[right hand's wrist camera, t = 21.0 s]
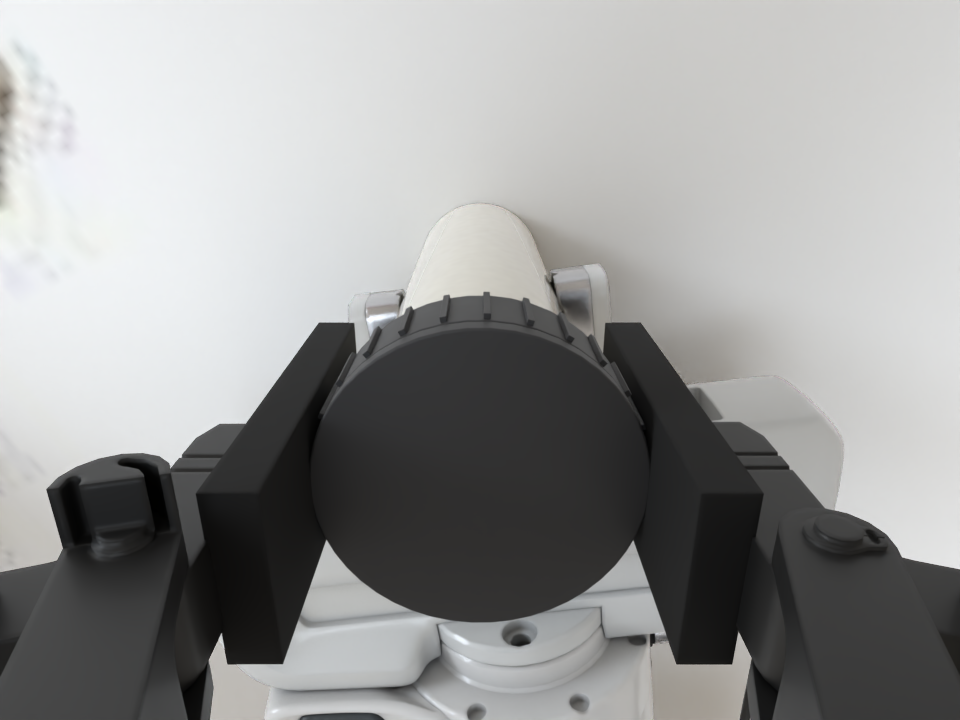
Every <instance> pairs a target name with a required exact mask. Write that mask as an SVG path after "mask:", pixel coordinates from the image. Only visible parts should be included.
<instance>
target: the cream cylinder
mask: <svg viewBox="0 0 960 720" xmlns="http://www.w3.org/2000/svg"><path fill="white" fill-rule="evenodd" d="M483 292H490V296H498V297H506V298H512V299H516V300H520V301H522V300H523V297H525V298H528V299H529V300H530V303H532V304H534V305H537V306H539V307H542V308H544V309H547V310H549V311H551V312H553V313H555V314H557V315H558V314H559V312H562V310H561V308H560V305H559V303H558V300H557V297H556V295H555V292H554V290H553V287H552V285H551V282H550V279H549V277H548V274H547V272H546V269H545V267H544V264H543V261H542V259H541V256H540V254H539V251H538V249H537V246H536V243H535V241H534V238H533V236H532V234H531V232H530V231H529V229H528V228H527V226H526V225H525V224H524V223H523V222H522V221H521V219H519V218H518V217H517V216H516V215H515V214H513V213H511V212H510V211H508V210H506V209H504V208H502V207H499V206H496V205H492V204H486V203H476V204H468V205H464V206H461V207H458V208H456V209H454V210H452V211H450V212H448V213H447V214H446V215H444V216H443V217H442V218H441V219H440V220H439V221H438V222H437V223H436V224H435V225H434V227H433V228H432V229H431V231H430V233H429V234H428V237H427V239H426V241H425V244H424V246H423V249H422V252H421V254H420V257H419V259H418V262H417V264H416V267H415V270H414V272H413V275H412V277H411V280H410V282H409V285H408V288H407V290H406V293H405V295H404V298H403V300H402V303H401V306H400V308H399V311H398V313H397V316H396V318H398V317H400V316H402V315H403V314H404V313H405V310H406V308H408V307H410V306H412V308H413V310H414V309H416V308H418V307H421V306H423V305H426V304H429V303H432V302H436V301H440V300H443V296H444V295H450V298H455V297H462V296H483Z"/></svg>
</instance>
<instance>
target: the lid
mask: <svg viewBox="0 0 960 720" xmlns="http://www.w3.org/2000/svg"><path fill="white" fill-rule="evenodd" d="M631 395H632V394H631V392H630V390H629V388H628V386H627V384H626V382H625V380H624V378H623V376H622V374H621V373H620V371H619V369H618V367H617V365H616V363H615V362H613V363H611V364H610V362H609V361H608V359H607V358H606V357H605V356H604V354H603V353H602V351H601V349H600V347H599V345H598V342H597V340H596V338H595V337H594V336H593V335H592V334H590V335H589V336H587V335H586V334H585V333H584V332H582V331H581V330H580V329H578V328H577V327H576V326H574V325H573V324H572V323H570V322H569V321H568V320H567V318H566V315H565V314H564V313H562V312H559V314H558V315H557V314H555V313H553V312H551V311H549V310H547V309H544V308H542V307H539V306H537V305H534V304H532V303H530V300H529V299H528V298H525V297H523V300H522V301H520V300H516V299H512V298H506V297H498V296H490V292H483V296H462V297H455V298H450V295H444V296H443V300H440V301H436V302H432V303H429V304H426V305H423V306H421V307H418V308H416V309H414V310H413V308H412V306H410V307H408V308H406V310H405V313H404V314H403V315H402V316H400V317H398V318H396V319H395V320H393V321H391V322H390V323H388V324H387V325H386V326H385V327H383V328H382V329H381V328H380V327H379V326H377V327H376V328H375V329H374V330H373V333H372V335H371V337H370V339H369V340H368V341H367V342H366V344H365V345H364V346H363V347H362V348H361V349H360V350H359V352H358V353H357V354H355V353H353V352H352V353H351V354H350V356H349V358H348V360H347V362H346V363H345V365H344V367H343V369H342V371H341V373H340V375H339V377H338V379H337V381H336V383H334V385H333V387H332V389H331V391H330V393H329V395H328V397H327V399H326V401H325V403H324V405H323V407H322V409H321V411H320V413H319V415H318V418H319V419H321V421H320V424H319V427H318V430H317V432H316V435H315V438H314V441H313V446H312V451H311V456H310V479H311V488H312V497H313V505H314V511H315V514H316V518H317V520H318V523H319V525H320V527H321V530H322V532H323V534H324V536H325V538H326V540H327V541H328V543H329V545H330V546H331V548H332V549H333V551H334V553H335V554H336V555H337V556H338V558H339V559H340V560H341V561H342V563H343V564H344V565H345V566H346V567H347V568H348V569H349V570H350V571H351V572H352V573H353V574H354V575H355V576H356V577H357V578H358V579H359V580H360V581H361V582H363V583H364V584H365V585H367V586H368V587H369V588H371V589H372V590H374V591H375V592H376V593H378V594H380V595H381V596H383V597H385V598H387V599H388V600H390V601H392V602H393V603H396V604H398V605H400V606H403V607H405V608H407V609H409V610H412V611H415V612H418V613H421V614H424V615H427V616H431V617H435V618H440V619H445V620H450V621H460V622H470V623H491V622H500V621H510V620H515V619H520V618H525V617H529V616H533V615H536V614H539V613H542V612H545V611H548V610H551V609H553V608H555V607H558V606H560V605H562V604H564V603H566V602H569V601H570V600H572V599H574V598H575V597H577V596H579V595H580V594H582V593H584V592H585V591H587V590H588V589H589V588H591V587H592V586H593V585H595V584H596V583H597V582H598V581H600V580H601V579H602V578H603V577H604V576H605V575H606V574H607V573H608V572H609V571H610V570H611V569H612V568H613V567H614V566H615V565H616V564H617V563H618V561H619V560H620V559H621V558H622V556H623V555H624V554H625V553H626V551H627V550H628V548H629V546H630V545H631V543H632V541H633V540H634V538H635V536H636V535H637V532H638V530H639V528H640V525H641V523H642V521H643V518H644V515H645V510H646V503H647V494H648V485H649V475H650V455H649V450H648V446H647V441H646V437H645V435H644V432H643V430H646V427H645V424H644V422H643V420H642V418H641V416H640V414H639V412H638V410H637V408H636V406H635V404H634V402H633V401H632V399H631V397H630V396H631Z"/></svg>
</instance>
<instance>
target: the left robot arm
mask: <svg viewBox="0 0 960 720" xmlns="http://www.w3.org/2000/svg"><path fill="white" fill-rule="evenodd" d="M550 282H551V285H552V287H553V290H554V292H555V295H556V297H557V300H558V303H559V305H560V308H561V310H562V313H564V314H565V315H566V318H567V320H568V321H569V322H570V323H572V324H573V325H574V326H576V327H577V328H578V329H580V330H581V331H582V332H584V333H585V334H586V335H587V336H589V335H590V334H592V335H593V336H594V337H595V338H596V340H597V342H598V345H599V347H600V349H601V351H602V353H603V346H604V332H605V323H612V322H611V307H610V291H609V283H608V278H607V274H606V271H605V270H604V269H603V267H602V266H601V265H600V263H598V264H591V265H583V266H575V267H568V268H561V269H554V270H550ZM404 295H405V292H404V290H403V289H402V290H393V291H384V292H375V293H365V294H359V295H355V296H354V297H353V299H352V300H351V302H350V304H349V305H348V320H349V323H354V324H355V338H356V351H357V353H358V352H359V350H360V349H361V348H362V347H363V346H364V345H365V344H366V342H367V341H368V340H369V339H370V337H371V335H372V333H373V330H374V329H375V328H376V327H377V326H379V327H380V328H381V329H382V328H383V327H385V326H386V325H387V324H388V323H390V322H391V321H393V320H395V319H396V316H397V313H398V311H399V308H400V306H401V303H402V300H403V298H404ZM686 386H687V388H688V389H689V390H690V392H691V393H692V395H693V396H694V397H695V399H696V400H697V402H698V403H699V404H700V406H701V407H702V408H703V410H704V411H705V413H706V414H707V415H708V417H709V418H710V419H711V421H712V422H741V423H743V424H745V425H746V426H748V427H750V428H751V429H753V430H755V431H756V432H758V433H760V434H761V435H763V436H764V437H765V438H766V439H767V440H768V441H769V443H770V444H771V445H772V446H773V447H774V448H775V450H776V451H777V452H778V456H781V457H782V458H783V459H784V460H785V461H786V463H787V464H788V465H789V466H790V467H789V468H790V470H793V471H794V472H795V473H796V474H797V476H798V477H799V478H800V479H801V480H802V482H803V483H804V484H805V485H806V486H807V487H808V489H809V490H810V491H811V492H812V493H813V495H814V496H815V497H816V498H817V499H818V500H819V502H820V503H821V504H822V505H823V506H824V508H826V509H830V510H835V506H836V501H837V496H838V491H839V486H840V479H841V473H842V467H843V457H844V444H843V440H842V437H841V435H840V433H839V431H838V430H837V428H836V426H835V425H834V424H833V423H832V422H831V420H830V419H829V418H828V417H827V416H826V415H825V414H824V413H823V412H822V411H821V409H820V408H819V407H818V406H817V405H816V404H815V403H814V402H813V401H811V400H810V399H809V398H808V397H807V396H805V395H804V394H803V393H802V392H800V391H799V390H798V389H796V388H795V387H794V386H792V385H791V384H790V383H789V382H787V381H786V380H784V379H782V378H781V377H778V376H773V375H768V376H756V377H748V378H739V379H731V380H723V381H714V382H706V383H698V384H689V385H686ZM738 632H739V631H738ZM219 641H220V643H221V645H222V646H223V648H224V643H223V638H222V633H221V635H220V637H219ZM658 643H669V641H668V638H667V635H666V633H665V630H664V627H663V624H662V621H661V618H660V615H659V612H658V610H657V607H656V604H655V601H654V598H653V595H652V592H651V590H650V587H649V584H648V581H647V578H646V575H645V572H644V569H643V567H642V564H641V561H640V558H639V555H638V552H637V549H636V546H635V544H634V541H632V543H631V545H630V546H629V548H628V550H627V551H626V553H625V554H624V555H623V556H622V558H621V559H620V560H619V561H618V563H617V564H616V565H615V566H614V567H613V568H612V569H611V570H610V571H609V572H608V573H607V574H606V575H605V576H604V577H603V578H602V579H601V580H600V581H598V582H597V583H596V584H595V585H593V586H592V587H591V588H589V589H588V590H587V591H585V592H584V593H582V594H580V595H579V596H577V597H575V598H574V599H572V600H570V601H569V602H566V603H564V604H562V605H560V606H558V607H555V608H553V609H551V610H548V611H545V612H542V613H539V614H536V615H533V616H529V617H525V618H520V619H515V620H510V621H500V622H491V623H470V622H460V621H450V620H445V619H440V618H435V617H431V616H427V615H424V614H421V613H418V612H415V611H412V610H409V609H407V608H405V607H403V606H400V605H398V604H396V603H393V602H392V601H390V600H388V599H387V598H385V597H383V596H381V595H380V594H378V593H376V592H375V591H374V590H372V589H371V588H369V587H368V586H367V585H365V584H364V583H363V582H361V581H360V580H359V579H358V578H357V577H356V576H355V575H354V574H353V573H352V572H351V571H350V570H349V569H348V568H347V567H346V566H345V565H344V564H343V563H342V561H341V560H340V559H339V558H338V556H337V555H336V554H335V553H334V551H333V549H332V548H331V546H330V545H329V543H328V541H327V540H326V543H325V545H324V548H323V551H322V554H321V557H320V560H319V563H318V565H317V568H316V571H315V574H314V577H313V580H312V583H311V586H310V588H309V591H308V594H307V597H306V600H305V603H304V606H303V608H302V611H301V614H300V617H299V620H298V623H297V626H296V629H295V631H294V634H293V637H292V640H291V643H290V646H289V649H288V652H287V654H286V657H285V660H284V663H283V664H236V665H237V666H238V667H239V668H240V669H241V670H242V671H243V672H244V673H246V674H247V675H248V676H250V677H251V678H253V679H254V680H256V681H258V682H260V683H262V684H264V685H267V686H270V691H269V696H268V701H267V706H266V710H265V716H264V720H654V713H653V693H652V668H651V657H650V647H652V644H658ZM224 650H225V648H224Z"/></svg>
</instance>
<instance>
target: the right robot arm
mask: <svg viewBox="0 0 960 720" xmlns="http://www.w3.org/2000/svg"><path fill="white" fill-rule="evenodd" d="M352 352H353V353H355V354H357V351H356V338H355V324H354V323H318V325H317V326H316V328H315V329H314V330H313V332H312V333H311V335H310V336H309V337H308V339H307V340H306V341H305V343H304V344H303V346H302V347H301V348H300V350H299V351H298V353H297V354H296V355H295V357H294V358H293V359H292V361H291V362H290V364H289V365H288V366H287V368H286V369H285V370H284V372H283V373H282V375H281V376H280V377H279V379H278V380H277V382H276V383H275V384H274V386H273V387H272V388H271V390H270V391H269V393H268V394H267V395H266V397H265V398H264V400H263V401H262V402H261V404H260V405H259V406H258V408H257V409H256V411H255V412H254V413H253V415H252V416H251V418H250V419H249V420H248V422H247V423H246V424H219V425H217V426H216V427H214V428H212V429H211V430H209V431H207V432H206V433H204V434H202V435H201V436H199V437H197V438H196V439H195V440H194V441H193V442H192V444H191V445H190V446H189V447H188V448H187V450H186V451H185V452H184V453H183V454H182V458H179V459H178V460H177V461H176V463H175V464H174V465H173V466H172V467H171V470H170V465H169V463H168V462H167V461H165V460H164V459H162V458H161V457H160V456H155V455H149V454H144V453H137V454H120V455H115V456H110V457H105V458H100V459H97V460H94V461H91V462H88V463H86V464H83V465H80V466H77V467H75V468H74V469H72V470H70V471H68V472H67V473H65V474H63V475H62V476H60V477H58V478H57V479H56V480H55V481H54V482H53V483H52V484H51V485H50V486H49V487H48V488H47V489H46V490H47V493H48V497H49V500H50V504H51V507H52V511H53V514H54V518H55V521H56V525H57V528H58V532H59V535H60V539H61V543H62V546H63V550H62V552H61V554H60V556H59V558H58V560H57V561H54V562H50V563H46V564H41V565H36V566H31V567H26V568H21V569H15V570H10V571H5V572H0V720H210V713H211V705H212V696H213V682H212V675H211V670H210V665H209V658H210V656H211V654H212V652H213V650H214V648H215V646H216V643H217V641H218V639H219V637H220V635H221V633H222V638H223V643H224V648H225V654H226V659H227V664H283V663H284V660H285V657H286V654H287V652H288V649H289V646H290V643H291V640H292V637H293V634H294V631H295V629H296V626H297V623H298V620H299V617H300V614H301V611H302V608H303V606H304V603H305V600H306V597H307V594H308V591H309V588H310V586H311V583H312V580H313V577H314V574H315V571H316V568H317V565H318V563H319V560H320V557H321V554H322V551H323V548H324V545H325V543H326V538H325V536H324V534H323V532H322V530H321V527H320V525H319V523H318V520H317V518H316V514H315V511H314V505H313V497H312V488H311V479H310V456H311V451H312V446H313V441H314V438H315V435H316V432H317V430H318V427H319V424H320V421H321V419H319V418H318V415H319V413H320V411H321V409H322V407H323V405H324V403H325V401H326V399H327V397H328V395H329V393H330V391H331V389H332V387H333V385H334V383H336V381H337V379H338V377H339V375H340V373H341V371H342V369H343V367H344V365H345V363H346V362H347V360H348V358H349V356H350V354H351V353H352ZM603 354H604V356H605V357H606V358H607V359H608V361H609V362H610V364H611V363H613V362H615V363H616V365H617V367H618V369H619V371H620V373H621V374H622V376H623V378H624V380H625V382H626V384H627V386H628V388H629V390H630V392H631V394H632V395H631V396H630V397H631V399H632V401H633V402H634V404H635V406H636V408H637V410H638V412H639V414H640V416H641V418H642V420H643V422H644V424H645V427H646V430H643V432H644V435H645V437H646V441H647V446H648V450H649V455H650V475H649V485H648V494H647V503H646V510H645V515H644V518H643V521H642V523H641V525H640V528H639V530H638V532H637V535H636V536H635V538H634V540H633V541H634V544H635V546H636V549H637V552H638V555H639V558H640V561H641V564H642V567H643V569H644V572H645V575H646V578H647V581H648V584H649V587H650V590H651V592H652V595H653V598H654V601H655V604H656V607H657V610H658V612H659V615H660V618H661V621H662V624H663V627H664V630H665V633H666V635H667V638H668V641H669V644H670V647H671V650H672V653H673V655H674V658H675V661H676V664H732V662H733V657H734V652H735V646H736V641H737V636H738V631H739V633H740V635H741V637H742V639H743V641H744V643H745V645H746V647H747V649H748V651H749V653H750V655H751V657H752V660H751V665H750V670H749V675H748V680H747V685H746V690H745V695H744V700H743V705H742V710H741V715H740V720H960V569H955V568H949V567H944V566H939V565H934V564H929V563H924V562H919V561H914V560H910V559H906V558H902V557H901V555H900V553H899V551H898V549H897V547H896V546H895V545H894V543H893V542H892V541H891V540H890V538H889V537H888V536H887V535H886V534H885V533H883V532H882V531H880V530H879V529H877V528H876V527H875V526H873V525H872V524H870V523H869V522H866V521H864V520H861V519H859V518H857V517H854V516H852V515H850V514H847V513H843V512H839V511H834V510H830V509H826V508H824V506H823V505H822V504H821V503H820V502H819V500H818V499H817V498H816V497H815V496H814V495H813V493H812V492H811V491H810V490H809V489H808V487H807V486H806V485H805V484H804V483H803V482H802V480H801V479H800V478H799V477H798V476H797V474H796V473H795V472H794V471H793V470H790V468H789V467H790V466H789V465H788V464H787V463H786V461H785V460H784V459H783V458H782V457H781V456H778V452H777V451H776V450H775V448H774V447H773V446H772V445H771V444H770V443H769V441H768V440H767V439H766V438H765V437H764V436H763V435H761V434H760V433H758V432H756V431H755V430H753V429H751V428H750V427H748V426H746V425H745V424H743V423H741V422H712V421H711V419H710V418H709V417H708V415H707V414H706V413H705V411H704V410H703V408H702V407H701V406H700V404H699V403H698V402H697V400H696V399H695V397H694V396H693V395H692V393H691V392H690V390H689V389H688V388H687V386H686V385H685V384H684V382H683V381H682V379H681V378H680V377H679V375H678V374H677V372H676V371H675V370H674V368H673V367H672V366H671V364H670V363H669V361H668V360H667V359H666V357H665V356H664V354H663V353H662V352H661V350H660V349H659V348H658V346H657V345H656V343H655V342H654V341H653V339H652V338H651V336H650V335H649V334H648V332H647V331H646V330H645V328H644V327H643V325H642V324H641V323H605V332H604V346H603Z"/></svg>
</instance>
